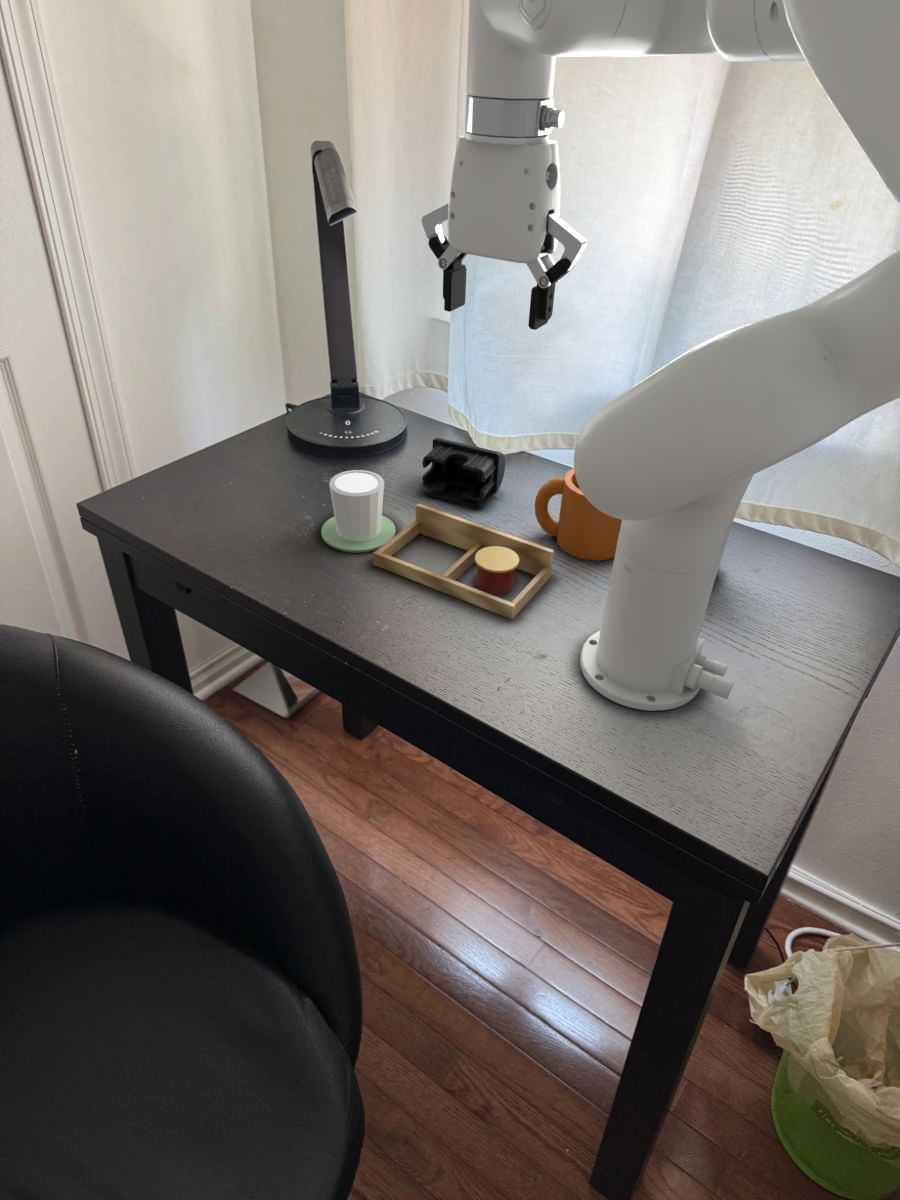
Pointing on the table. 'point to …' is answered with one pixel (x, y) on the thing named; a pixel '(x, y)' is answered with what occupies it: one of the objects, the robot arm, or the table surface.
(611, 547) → the mug
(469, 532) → the pod caddy
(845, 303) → the robot arm
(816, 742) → the table surface
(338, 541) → the coaster
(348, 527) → the shot glass
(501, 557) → the coffee pod
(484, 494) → the end cap
